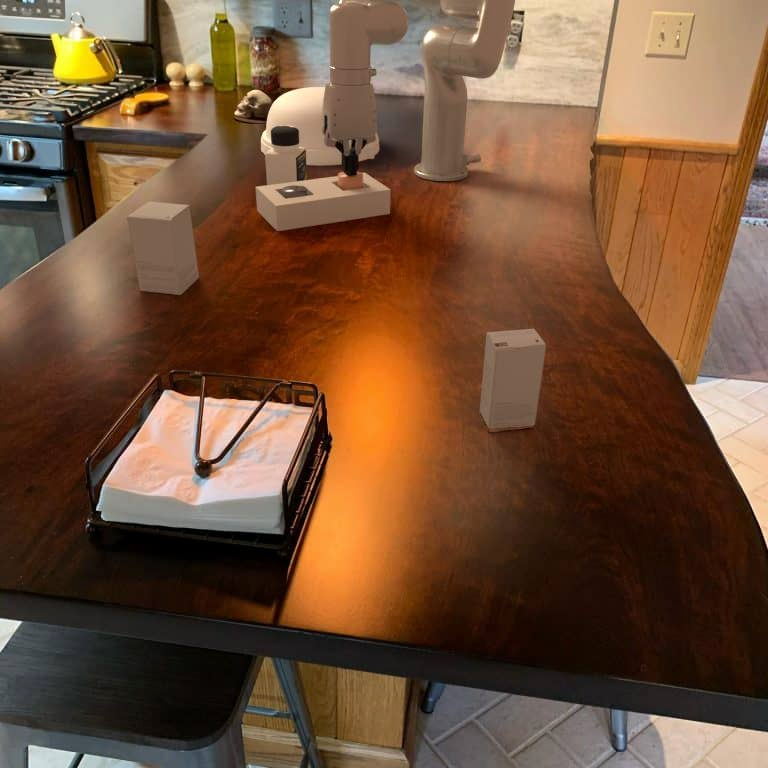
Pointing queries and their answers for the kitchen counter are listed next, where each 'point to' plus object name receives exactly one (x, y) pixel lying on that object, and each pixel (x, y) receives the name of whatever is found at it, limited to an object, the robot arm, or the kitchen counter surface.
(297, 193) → the charcoal button
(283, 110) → the dome cover
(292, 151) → the medicine bottle
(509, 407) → the skincare box
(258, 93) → the skull
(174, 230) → the supplement box
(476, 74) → the robot arm
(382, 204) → the button console
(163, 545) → the kitchen counter surface
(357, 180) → the light brown rounded piece
